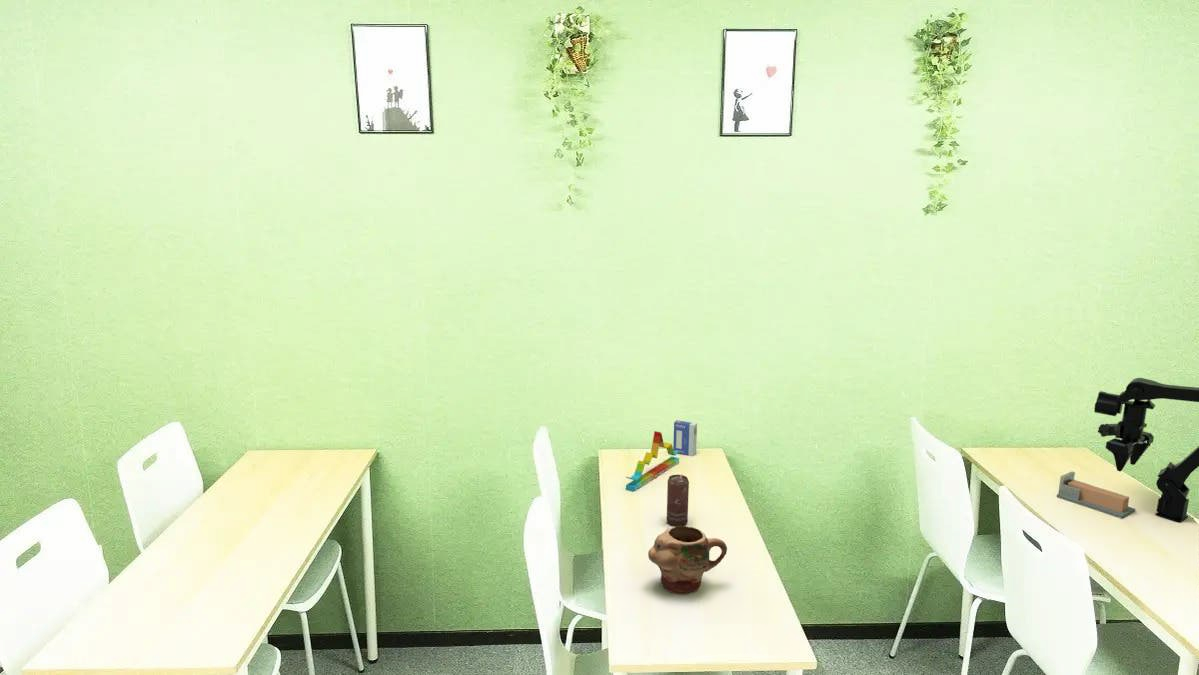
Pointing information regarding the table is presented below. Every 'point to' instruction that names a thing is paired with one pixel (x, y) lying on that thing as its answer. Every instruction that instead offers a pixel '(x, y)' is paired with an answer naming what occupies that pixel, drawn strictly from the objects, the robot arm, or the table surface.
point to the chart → (643, 479)
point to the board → (1099, 507)
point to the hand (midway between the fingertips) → (1125, 467)
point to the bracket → (1069, 490)
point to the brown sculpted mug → (684, 558)
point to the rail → (1101, 496)
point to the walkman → (685, 438)
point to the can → (677, 500)
